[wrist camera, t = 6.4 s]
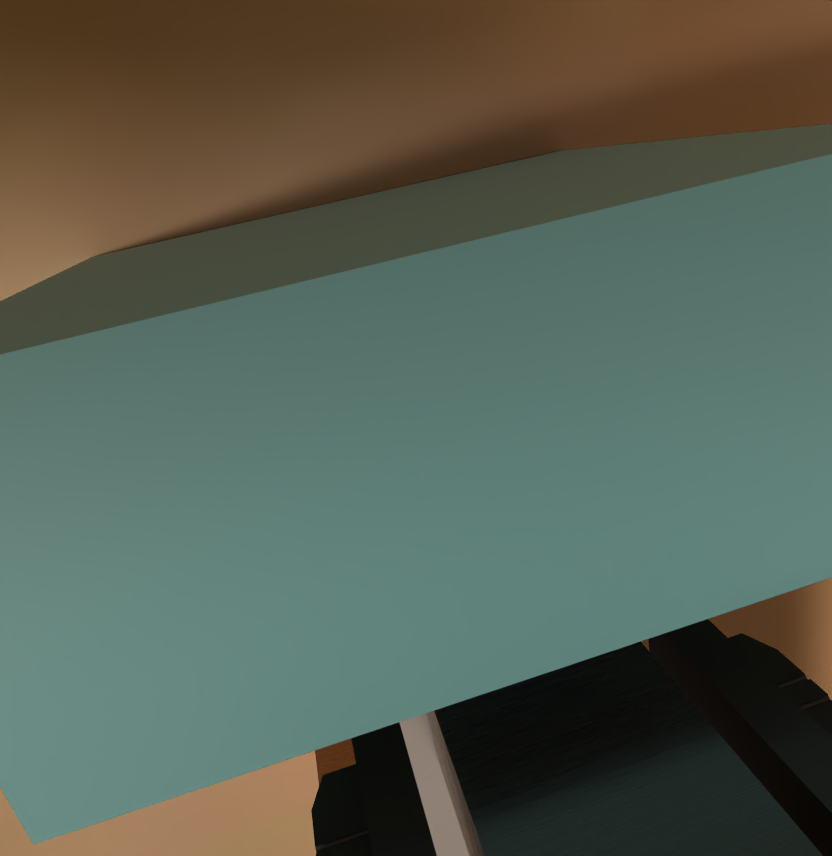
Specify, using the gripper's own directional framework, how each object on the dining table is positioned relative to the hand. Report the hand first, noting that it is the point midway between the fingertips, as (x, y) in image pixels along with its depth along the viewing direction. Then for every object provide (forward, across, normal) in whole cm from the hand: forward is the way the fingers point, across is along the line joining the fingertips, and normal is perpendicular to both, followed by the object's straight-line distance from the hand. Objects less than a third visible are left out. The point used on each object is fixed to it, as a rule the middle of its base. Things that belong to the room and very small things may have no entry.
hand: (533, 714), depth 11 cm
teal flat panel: (+10, 0, -5) cm, 11 cm away
